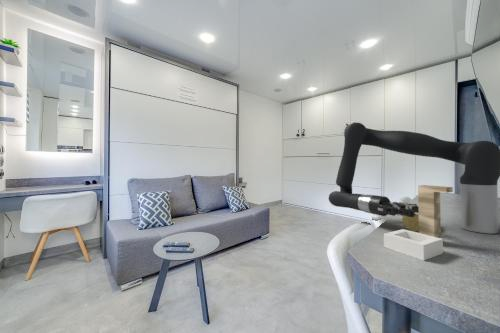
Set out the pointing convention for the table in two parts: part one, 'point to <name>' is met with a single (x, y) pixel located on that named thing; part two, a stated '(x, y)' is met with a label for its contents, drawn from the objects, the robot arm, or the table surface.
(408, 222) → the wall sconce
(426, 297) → the table surface
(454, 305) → the table surface
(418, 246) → the square well
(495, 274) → the table surface
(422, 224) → the wooden l-shaped block
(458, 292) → the table surface
